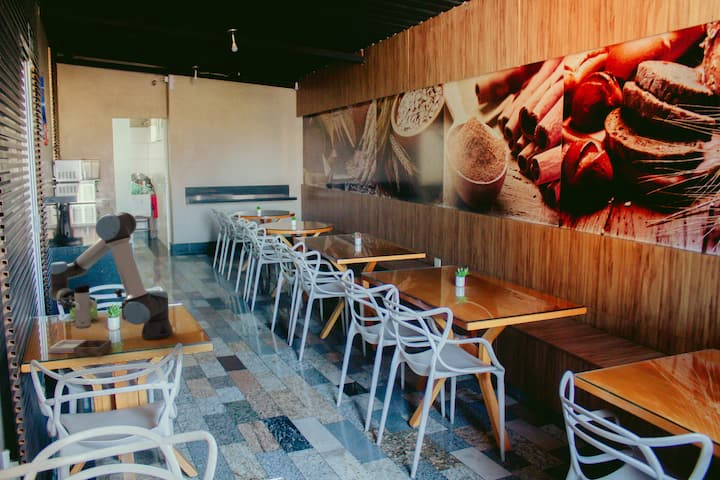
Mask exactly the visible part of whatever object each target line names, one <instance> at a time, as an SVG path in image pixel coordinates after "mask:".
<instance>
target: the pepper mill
mask: <svg viewBox="0 0 720 480" xmlns="http://www.w3.org/2000/svg"><path fill="white" fill-rule="evenodd" d="M122 292H123V290H122V289H121V288H116V289H115V291H114V294H115V295H116V297H117V298H118V299H119V298H120V299H125V297H126V295H125V296H123V294H122ZM120 304H121V319H123V320H126V318H125V317H124V314H123V309H124V307H125V305H126V304H125V301H123V302H121V303H120Z"/></svg>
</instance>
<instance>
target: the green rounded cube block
mask: <svg viewBox="0 0 720 480" xmlns="http://www.w3.org/2000/svg"><path fill="white" fill-rule="evenodd" d="M97 301H98V299H95V302H96V307H95V308H94V307H92V306H90V314H91V321H94V320H93V319H96V318H98V317H99V316H98V314H99V313H98V302H97ZM69 313H70V315H69V316H70V319H71V320H74V322H76V316H75V308H72V309H70V308H69Z"/></svg>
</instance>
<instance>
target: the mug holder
mask: <svg viewBox="0 0 720 480" xmlns="http://www.w3.org/2000/svg"><path fill="white" fill-rule="evenodd" d="M84 340H85V341H83V342H82V343H80V344H79V345H77V346H76V347H74V353H73V357H74V358H75V357H76V358H77V357H78V358H79V357H81V358H82V357H84V358H85V357H88V358H89V357H91V358H92V357H94V358H95V357H98V358H99V357H103V356H104V355H106V354H107V352H109V351H110V350H111V349H113V347H112V339H84Z"/></svg>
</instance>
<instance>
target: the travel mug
mask: <svg viewBox="0 0 720 480" xmlns="http://www.w3.org/2000/svg"><path fill="white" fill-rule="evenodd" d="M73 288H74V290H73V291H74V293H75V294H74V295H75V302H76V303H78V304H80V310H77V309H75V316H76V321H75V328H76V329H79V330H84V329H89V328H91V327H92V320H91V314H90V297H91V295H90V284H81V285H77V286H74V287H73Z"/></svg>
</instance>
